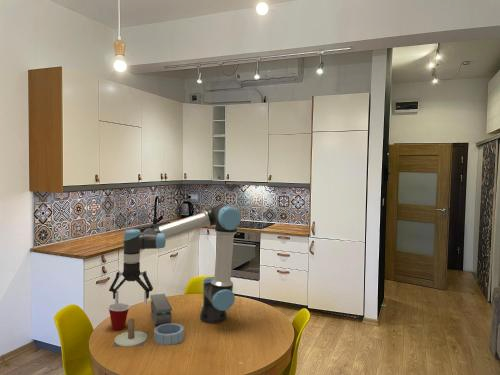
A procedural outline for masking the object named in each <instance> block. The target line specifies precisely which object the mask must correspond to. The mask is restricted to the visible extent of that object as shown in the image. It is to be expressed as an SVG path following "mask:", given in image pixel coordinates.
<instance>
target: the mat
mask: <svg viewBox="0 0 500 375" xmlns="http://www.w3.org/2000/svg"><path fill="white" fill-rule="evenodd" d="M145 333H146V334H147V336H148V334H149V332H145ZM120 334H122V333H119V334H118V335H120ZM145 343H146V341H145V342H143V343H141V344H139V345H136V346H135V347H143V346H144V345H145ZM113 347H115V348H116V347H120V346H119V345H117V344H116V343H115V342H114V343H113V345H112V348H113Z"/></svg>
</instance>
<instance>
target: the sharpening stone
mask: <svg viewBox="0 0 500 375" xmlns="http://www.w3.org/2000/svg"><path fill="white" fill-rule="evenodd" d="M149 298H150V312H151V319H153V320H152V322H153V325H154V326H159V325H162V324H166V323H171V321H172V317H173V316H172V312H173V307H172V305H171V303H170V302H169V300H168V298H167V295H166V294H165V293H157V294H150V295H149Z"/></svg>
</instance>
